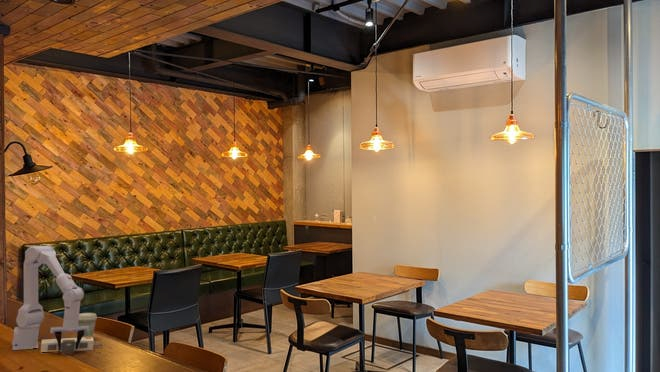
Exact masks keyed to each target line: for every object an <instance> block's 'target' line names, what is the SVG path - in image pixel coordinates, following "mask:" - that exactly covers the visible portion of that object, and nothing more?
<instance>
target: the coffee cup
mask: <svg viewBox="0 0 660 372" xmlns="http://www.w3.org/2000/svg"><path fill="white" fill-rule="evenodd" d="M97 319H98V316H97V313H95V312H83V313H79V320H78V326H89V331H84V332H85V333H84V335H83V337H93V336H94V331H95V326H96V321H97ZM93 338H94V337H93Z"/></svg>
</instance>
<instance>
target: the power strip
mask: <svg viewBox="0 0 660 372" xmlns="http://www.w3.org/2000/svg"><path fill="white" fill-rule="evenodd" d="M63 340H75V346H74V352H83V351H94V347H103V343H95V340H94V337H82V339H81V341H80V343H79V346H78V349H76V342H77V337H67V338H65V337H64V338H61V350H58V342H57V339H56V338H50V339H47V338H46V339H41V343H40V353H41V352H47V351H60V352H59V353H62V344H63Z"/></svg>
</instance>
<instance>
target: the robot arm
mask: <svg viewBox="0 0 660 372" xmlns="http://www.w3.org/2000/svg"><path fill="white" fill-rule="evenodd" d="M56 255H57V252H56V251H55V249H54V247H53V246H52V245H38V246H37V245H32V246H29V247H28V248H27V249H26V250H25V251H24V261H23V305H22V306H21V307H20V308H19V309H18V310H17V311H18V312H17V316H16V320H15V321H16V324H17V326H16V327H14V331H13V340H11V341H12V342H11V346H12V347H11V348H12V351H20V350H21V351H22V350H34V349H33V348H37V349H39V341H38V340H39V333H40V331H39V330H40V326H41V325H42V324H41V323H43V322H44V320H45V313H44V309H43V308H44V306H43V305H41V304H40V303H39V267H40V266H41V265H42V264H44V265H46V266H47V267H48V268H49V270H50V271H51V272H52V273H53V275H54V276H55V278H56V279H55V283H56V284H57V286H58V287H59V289H60V291H61V292H62V294H63V295H62V300H63V305H64V311H63V312H64V313H63V323H62V326H53V327H50V334H54V336H55V339H57V342H58V350H61V339H62V335H63V334H62V333H70V332H71V333H73V332H74V333H75V332H76V334H77V335H76V338H77V342H76V349H78V346H79V343H80V341H81V339H82V337H83V335H84V333H85V332H84V331H89V326H78V320H79V314H80V311H81V310H80V307H81V301H82V300H83V299H84V297H85V292H84V289H83V288H82V287H79V286H78V285H77V284H76V283H75V282H74V280H73V278H72V275H70V274H68V273H65V271H64V270H63V268H62V266H61V264H60V262H59V261H58V258H57V256H56Z"/></svg>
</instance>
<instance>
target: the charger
mask: <svg viewBox="0 0 660 372" xmlns="http://www.w3.org/2000/svg"><path fill="white" fill-rule="evenodd" d="M74 346H75V340H63V344H62V352H61V354H62V353H63V354H64V355H74V354H75V351H74Z"/></svg>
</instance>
